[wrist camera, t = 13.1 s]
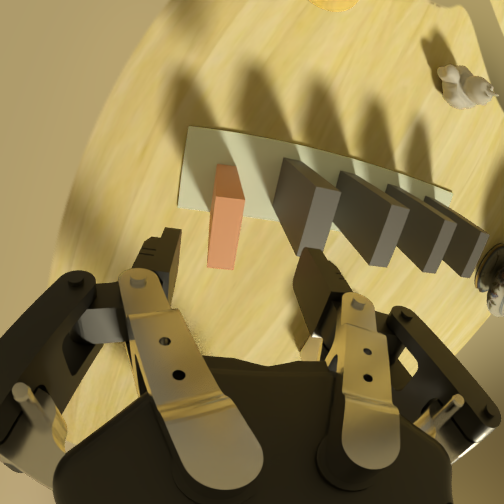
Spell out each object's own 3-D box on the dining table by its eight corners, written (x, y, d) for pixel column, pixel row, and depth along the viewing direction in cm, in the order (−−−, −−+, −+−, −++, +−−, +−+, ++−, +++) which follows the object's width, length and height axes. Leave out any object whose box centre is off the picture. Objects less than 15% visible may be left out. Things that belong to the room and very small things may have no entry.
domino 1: (236, 166, 26) (245, 200, 18) (228, 215, 29) (233, 270, 20) (217, 163, 26) (215, 196, 17) (210, 213, 28) (206, 267, 20)
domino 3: (355, 174, 28) (409, 209, 19) (342, 218, 30) (386, 267, 21) (340, 170, 27) (391, 204, 19) (327, 215, 30) (369, 265, 21)
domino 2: (301, 161, 27) (341, 192, 18) (289, 209, 29) (320, 259, 20) (283, 157, 26) (316, 186, 18) (272, 206, 29) (296, 256, 20)
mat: (452, 192, 30) (453, 193, 30) (431, 247, 34) (432, 248, 34) (188, 125, 24) (188, 126, 24) (178, 206, 28) (177, 207, 28)
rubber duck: (455, 117, 25) (502, 130, 18) (420, 85, 24) (470, 88, 17) (468, 85, 23) (515, 91, 16) (434, 51, 21) (483, 48, 14)
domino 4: (399, 187, 29) (457, 223, 20) (386, 227, 31) (435, 273, 22) (387, 183, 29) (444, 219, 20) (373, 224, 31) (422, 272, 22)
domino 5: (434, 198, 30) (489, 234, 21) (421, 235, 32) (469, 278, 24) (425, 195, 30) (481, 231, 21) (411, 233, 32) (460, 276, 23)
